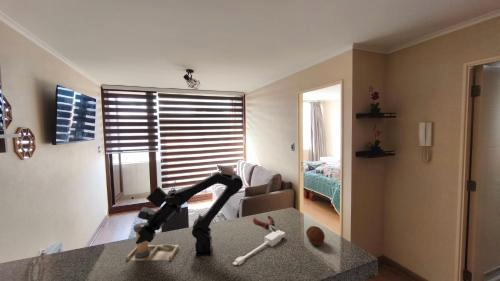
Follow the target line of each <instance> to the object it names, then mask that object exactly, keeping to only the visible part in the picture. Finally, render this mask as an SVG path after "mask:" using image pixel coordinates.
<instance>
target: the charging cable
mask: <svg viewBox="0 0 500 281" xmlns="http://www.w3.org/2000/svg"><path fill="white" fill-rule="evenodd" d="M276 230H277V229H276ZM284 237H286V232H284V231H283V230H279V229H278V230H277V231H276V232H275V231H273V232H271V231H270V233H269V234H266V235H265V236H264V237H263V243H261V245H259V246H258V247H256V248H255V249H252V250H251V251H250V252H248V253H247V254H246V255H244V256H243V255H242V256H238V257H237V258H235V259H234V262H232V265H234V266H236V265H239V266H240V265H241V264H243V263H244V262H245V260H246V259H247V258H248V257H250V256H251V255H253V254H254V253H256V252H257V251H258V250H260V249H262V248H263V247H265V246H266V245H268V246H270V247H274V246H275V245H277V244H279V242H281V240H282V238H284Z"/></svg>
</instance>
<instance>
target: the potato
mask: <svg viewBox="0 0 500 281" xmlns="http://www.w3.org/2000/svg"><path fill="white" fill-rule="evenodd" d="M305 234H306V237H307V239H308V240H309V241H310V242H311V244H313V245H314V246H316V247H320V246H322V245H323V244H324V242H325V237H326V236H325V232H324V231H323V229H321V227H319V226H316V225H310V226H309V227H308V228H307V229H306V232H305Z"/></svg>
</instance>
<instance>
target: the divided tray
mask: <svg viewBox="0 0 500 281" xmlns="http://www.w3.org/2000/svg"><path fill="white" fill-rule="evenodd" d="M179 247H180V245H179V244H171V243H164V244H148V248H150V254H149V255H148V256H147V257H145V258H142V259H137V258H135V252H136V251H137V245H136V246H135V247H134V248H133V249H132V250H131V251H130V252H129V253H128V254H127V255H126V257H125V261H172V260H173V259H174V257H175V255H176V253H177V252H178V250H179Z"/></svg>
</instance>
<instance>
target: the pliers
mask: <svg viewBox="0 0 500 281" xmlns="http://www.w3.org/2000/svg"><path fill="white" fill-rule="evenodd" d="M267 219H269V221H270V222H269V223H266V222H263V221H260V220H259V219H257V218H256V217H253V219H252V221H253V222H254V224H255V225H257V226H260V227H263V228H264V229H265V230H266V229H268V230H269V231H270V233H271V232H276V231H277V228H276V227H275V223H274V218H273V217H272V216H270V215H267Z"/></svg>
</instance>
